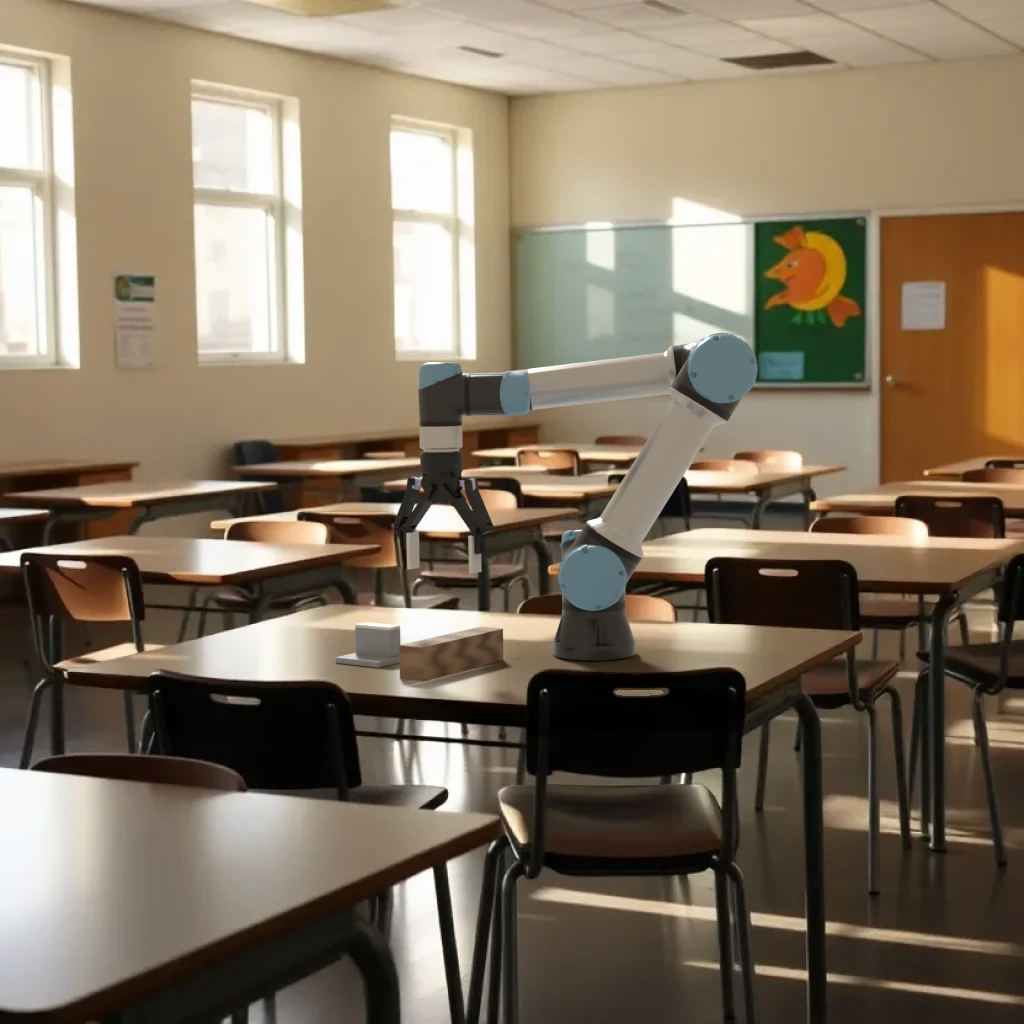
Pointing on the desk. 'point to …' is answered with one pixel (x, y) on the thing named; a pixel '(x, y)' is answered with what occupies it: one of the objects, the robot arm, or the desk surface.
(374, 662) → the fulcrum
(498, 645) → the brown long rectangular block
